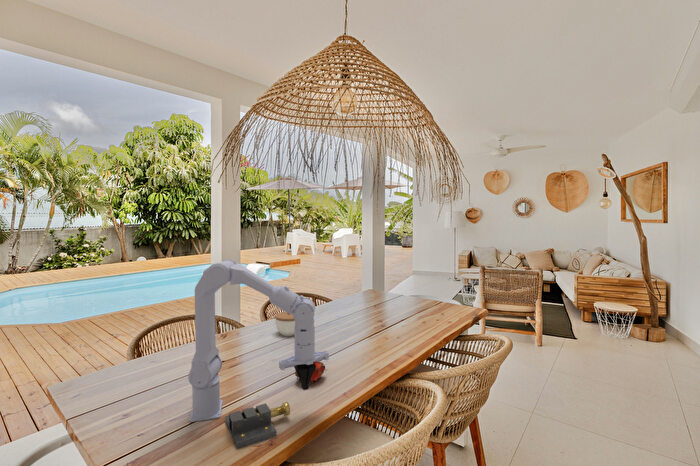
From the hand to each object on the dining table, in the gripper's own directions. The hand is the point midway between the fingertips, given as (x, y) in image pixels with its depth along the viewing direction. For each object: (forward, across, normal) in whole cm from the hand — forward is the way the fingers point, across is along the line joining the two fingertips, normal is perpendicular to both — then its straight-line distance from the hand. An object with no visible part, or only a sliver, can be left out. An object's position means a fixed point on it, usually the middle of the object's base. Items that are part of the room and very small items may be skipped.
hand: (304, 388), depth 101 cm
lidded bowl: (+7, +21, +66) cm, 69 cm away
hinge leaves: (+7, -16, 0) cm, 17 cm away
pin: (+6, -11, 0) cm, 12 cm away
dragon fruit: (+7, +10, +17) cm, 21 cm away
